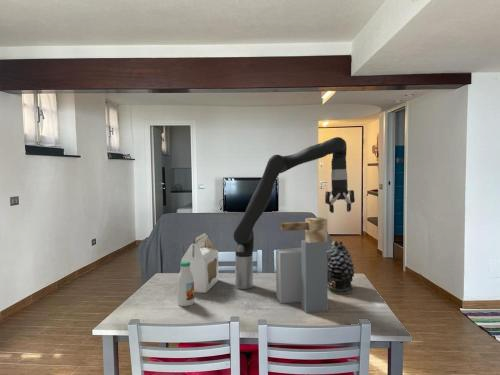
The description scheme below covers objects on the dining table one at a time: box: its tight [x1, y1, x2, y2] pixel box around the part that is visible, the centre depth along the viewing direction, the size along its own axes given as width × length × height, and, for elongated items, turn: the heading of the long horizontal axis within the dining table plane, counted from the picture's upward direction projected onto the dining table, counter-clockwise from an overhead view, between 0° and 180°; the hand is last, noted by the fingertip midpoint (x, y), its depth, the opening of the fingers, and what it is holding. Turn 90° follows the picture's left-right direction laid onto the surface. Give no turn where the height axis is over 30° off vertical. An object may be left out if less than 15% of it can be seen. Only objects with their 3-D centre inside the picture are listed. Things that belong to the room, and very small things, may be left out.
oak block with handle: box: [280, 217, 328, 243], centre depth 153 cm, size 20×6×10 cm, turn 100°
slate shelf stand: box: [275, 239, 329, 314], centre depth 162 cm, size 18×21×31 cm
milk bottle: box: [176, 261, 195, 307], centre depth 164 cm, size 8×8×20 cm
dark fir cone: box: [327, 240, 355, 295], centre depth 182 cm, size 21×15×25 cm
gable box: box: [181, 232, 219, 294], centre depth 190 cm, size 22×13×28 cm, turn 168°
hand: (340, 212), depth 168 cm, fingers open, 8 cm apart
